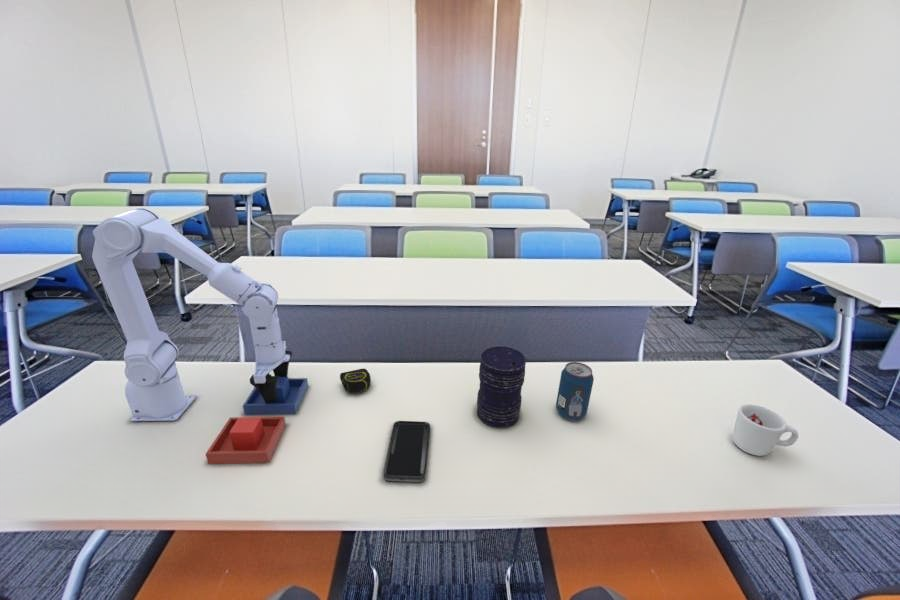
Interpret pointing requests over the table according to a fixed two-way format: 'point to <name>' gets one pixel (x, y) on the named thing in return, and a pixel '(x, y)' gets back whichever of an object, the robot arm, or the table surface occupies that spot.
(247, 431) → the red block
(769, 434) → the cup
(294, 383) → the blue tray
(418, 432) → the phone
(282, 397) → the blue block
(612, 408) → the table surface
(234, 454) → the red tray
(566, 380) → the soda can
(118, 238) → the robot arm
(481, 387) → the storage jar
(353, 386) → the tape measure
